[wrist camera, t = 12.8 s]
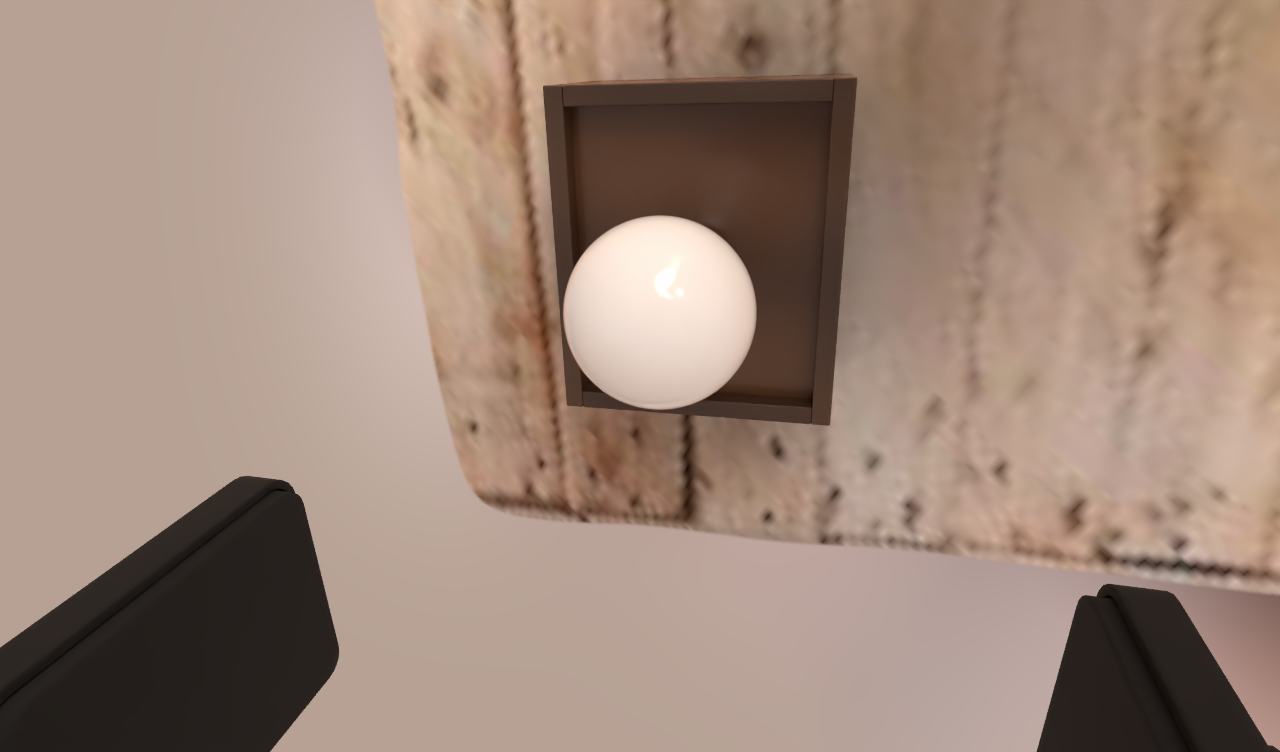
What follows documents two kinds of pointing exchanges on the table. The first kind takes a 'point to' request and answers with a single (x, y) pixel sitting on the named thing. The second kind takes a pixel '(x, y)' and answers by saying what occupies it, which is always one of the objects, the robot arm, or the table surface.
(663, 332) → the lightbulb
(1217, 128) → the table surface
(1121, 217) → the table surface
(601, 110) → the tray
